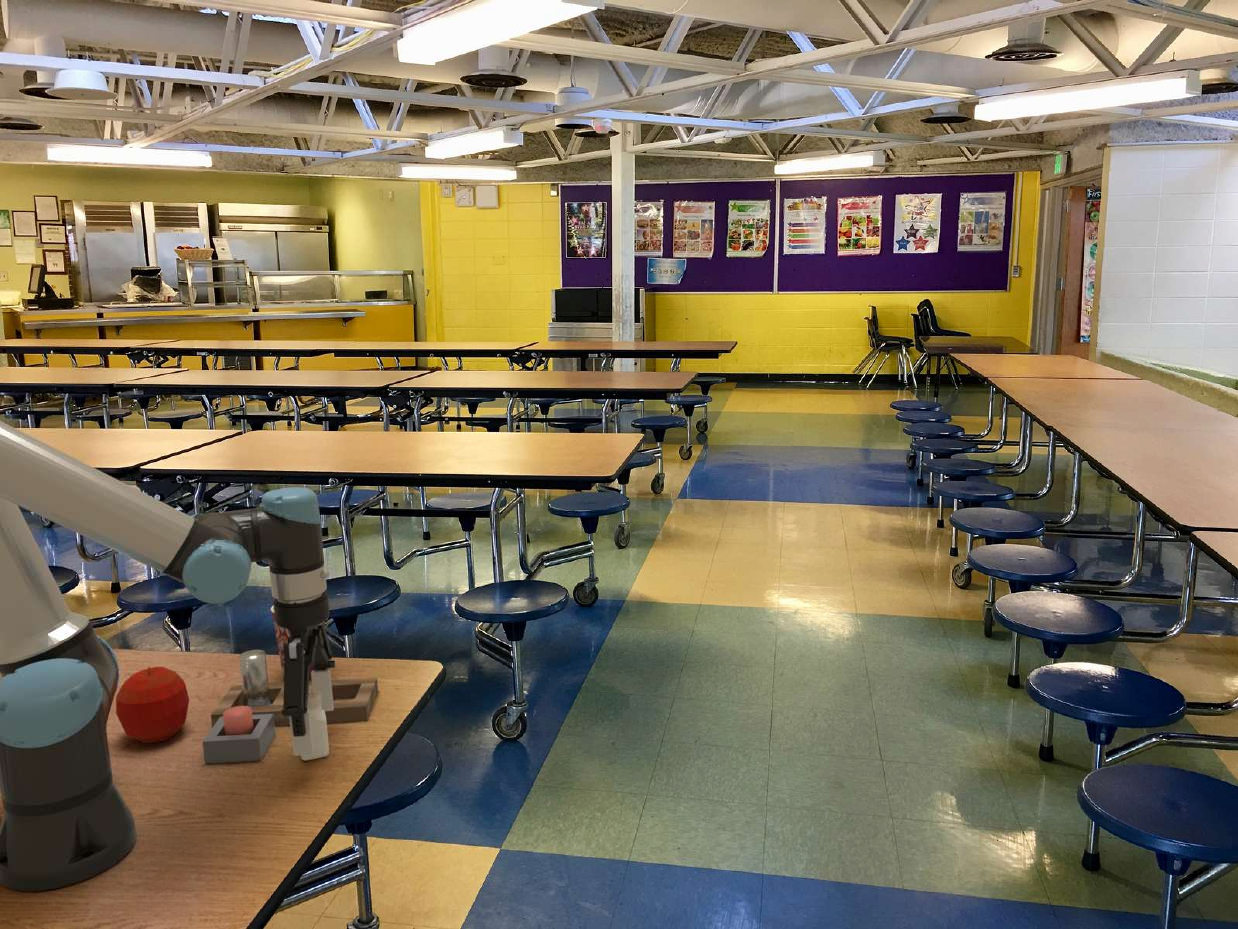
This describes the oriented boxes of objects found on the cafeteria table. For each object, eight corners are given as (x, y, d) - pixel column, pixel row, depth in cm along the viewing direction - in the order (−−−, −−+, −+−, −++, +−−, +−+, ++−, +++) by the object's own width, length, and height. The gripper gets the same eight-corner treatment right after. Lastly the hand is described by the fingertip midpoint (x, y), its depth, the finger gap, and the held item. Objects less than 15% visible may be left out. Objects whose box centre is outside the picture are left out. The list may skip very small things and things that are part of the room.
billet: (267, 716, 153) (261, 658, 151) (241, 718, 153) (235, 660, 151) (273, 705, 157) (268, 649, 155) (249, 707, 157) (243, 650, 155)
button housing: (261, 760, 139) (258, 738, 139) (205, 763, 139) (202, 741, 138) (275, 734, 147) (273, 713, 146) (222, 737, 146) (220, 716, 146)
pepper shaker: (301, 763, 138) (295, 702, 136) (299, 750, 142) (294, 691, 140) (329, 757, 140) (324, 697, 138) (327, 745, 143) (322, 687, 142)
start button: (250, 748, 141) (247, 717, 140) (222, 750, 141) (219, 718, 140) (258, 735, 145) (254, 705, 144) (231, 737, 144) (227, 706, 143)
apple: (167, 715, 154) (159, 649, 152) (206, 729, 149) (198, 661, 147) (107, 742, 146) (97, 671, 144) (146, 757, 141) (137, 685, 138)
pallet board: (367, 720, 151) (365, 706, 151) (212, 729, 149) (210, 714, 149) (378, 691, 162) (377, 677, 161) (234, 699, 160) (232, 685, 159)
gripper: (306, 625, 124) (322, 772, 128) (343, 567, 148) (355, 692, 153) (247, 628, 124) (265, 776, 128) (295, 569, 148) (308, 696, 152)
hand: (314, 731), depth 140 cm, fingers open, 13 cm apart
